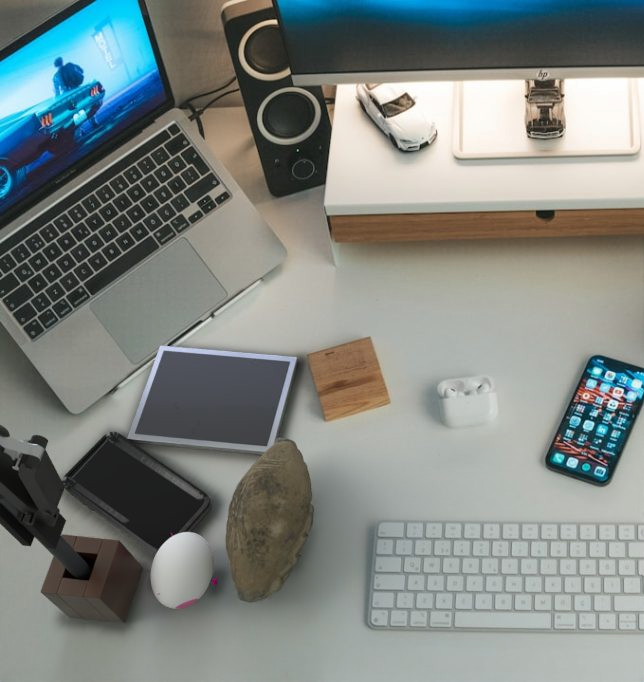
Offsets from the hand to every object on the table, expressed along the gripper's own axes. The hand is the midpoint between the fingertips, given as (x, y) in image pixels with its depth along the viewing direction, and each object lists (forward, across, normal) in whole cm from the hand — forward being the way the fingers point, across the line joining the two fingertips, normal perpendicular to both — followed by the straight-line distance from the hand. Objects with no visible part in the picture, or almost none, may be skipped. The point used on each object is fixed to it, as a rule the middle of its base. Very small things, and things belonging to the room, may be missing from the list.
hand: (44, 532), depth 95 cm
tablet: (+15, -5, -23) cm, 28 cm away
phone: (+15, 0, -11) cm, 18 cm away
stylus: (+13, 0, 0) cm, 13 cm away
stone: (+15, -16, -8) cm, 23 cm away
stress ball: (+15, -8, -2) cm, 17 cm away
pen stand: (+15, 0, 0) cm, 15 cm away
